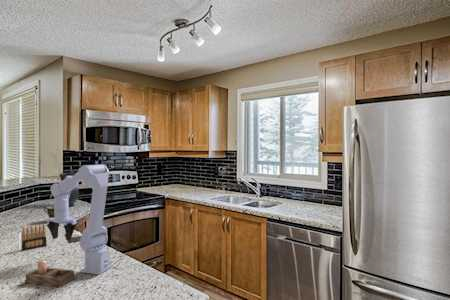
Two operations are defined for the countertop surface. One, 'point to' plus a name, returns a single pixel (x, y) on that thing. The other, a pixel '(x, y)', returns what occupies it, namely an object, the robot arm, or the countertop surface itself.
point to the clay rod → (41, 267)
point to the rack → (50, 277)
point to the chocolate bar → (75, 237)
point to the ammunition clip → (33, 238)
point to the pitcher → (74, 192)
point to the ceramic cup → (50, 211)
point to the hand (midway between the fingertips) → (62, 239)
